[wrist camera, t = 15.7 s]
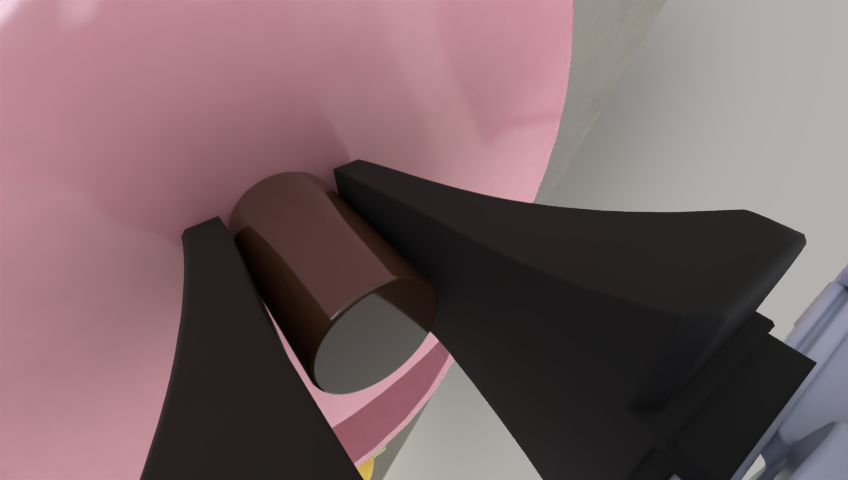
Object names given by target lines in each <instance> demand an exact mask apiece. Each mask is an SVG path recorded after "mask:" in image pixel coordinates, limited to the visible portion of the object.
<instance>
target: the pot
mask: <svg viewBox="0 0 848 480" xmlns="http://www.w3.org/2000/svg"><path fill="white" fill-rule="evenodd" d="M453 361H454V358H453V357H452V356H451V354H450V353H449V352H448V351H447V349H446V348H445V347H444V346H443V345H442V344H441V343H440V342H438V343H437V344H436V345H435V346H434V347H433V348H432V349H431V350H430V351H429V352H428V353H427V354H426V355H425V356H424V357H423V358H422V359H421V360H420V361H418V362H417V363H416V364H415V365H414V366H413V367H412V368H411V369H410V370H409V371H408V372H407V373H406V374H404V375H403V376H402V377H401V378H400V379H398V380H397V381H396V382H395V383H393V384H392V385H391V386H390V387H389V388H387V389H386V390H385V391H384V392H383V393H381V394H380V395H379V396H377V397H376V398H375V399H373V400H372V401H371V402H369V403H368V404H367V405H365V406H364V407H362V408H361V409H360V410H358V411H357V412H356V413H354V414H353V415H351V416H350V417H348V418H347V419H345V420H344V421H342V422H341V423H339V424H338V425H336V426H335V427H333V428H332V429H333V431H334V433H335V434H336V436H337V437H338V439H339V441H340V442H341V444H342V446H343V447H344V449H345V450H346V452H347V454H348V455H349V457H350V458H351V460H352V462H353V463H354V465H355V466H356V468H357V467H359V466H360V465H361V464H363V463H364V462H365V461H367V460H368V459H369V458H371V457H372V456H373V455H375V454H376V453H377V452H378V451H379V450H380V449H382V448H383V447H384V446H385V445H386V444H387V443H388V442H389V441H390V440H391V439H392V438H393V437H394V436H395V435H396V434H397V433H398V432H400V431H401V430H402V429H403V428H404V427H405V426H406V425H407V424H408V423H409V422H410V421H411V420H412V418H413V417H414V416H415V415H416V414H417V412H418V411H419V410H420V409H421V407H422V406H423V405H424V404H425V403H426V401H427V400H428V399H429V398H430V397H431V395H432V394H433V393H434V392H435V390H436V389H437V387H438V386H439V384H440V382H441V381H442V379H443V377H444V376H445V374H446V372H447V371H448V369H449V367H450V366H451V364H452V362H453Z"/></svg>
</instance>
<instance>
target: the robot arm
mask: <svg viewBox="0 0 848 480" xmlns="http://www.w3.org/2000/svg"><path fill="white" fill-rule="evenodd" d="M333 171H334V176H335V180H336V185H337V189H338V193H339V195H340V196H341V197H342V198H343V199H344V200H345V201H346V202H347V203H348V204H349V205H350V206H351V207H352V208H353V209H354V210H355V211H356V212H357V213H358V214H359V215H360V216H361V217H362V218H364V219H365V220H366V221H367V222H368V223H369V224H370V225H371V226H372V227H373V228H374V229H375V230H376V231H377V232H378V233H379V234H380V235H381V236H382V237H383V238H384V239H385V240H386V241H387V242H388V243H389V244H391V245H392V246H393V247H394V248H395V249H396V250H397V251H398V252H399V253H400V254H401V255H402V256H403V257H404V258H405V259H406V260H407V261H408V262H409V263H410V264H411V265H412V266H413V267H414V268H415V269H416V270H417V271H419V272H420V273H421V274H422V275H423V276H424V277H425V278H426V279H427V280H428V281H429V282H430V283H431V284H432V286H433V287H434V289H435V292H436V295H437V298H438V310H437V315H436V318H435V321H434V324H433V326H432V328H431V330H430V332H431V333H432V334H433V335H434V336H435V337H436V338H437V339H438V340H439V342H440V343H441V344H442V345H443V346H444V347H445V348H446V349H447V351H448V352H449V353H450V354H451V356H452V357H453V358H454V359H455V360H456V362H457V363H458V364H459V366H460V367H461V368H462V369H463V371H464V372H465V373H466V375H467V376H468V377H469V378H470V379H471V381H472V382H473V383H474V385H475V386H476V387H477V389H478V390H479V391H480V393H481V394H482V395H483V397H484V398H485V399H486V401H487V402H488V403H489V405H490V406H491V407H492V409H493V410H494V411H495V413H496V414H497V415H498V417H499V418H500V419H501V421H502V422H503V424H504V425H505V426H506V428H507V429H508V430H509V432H510V433H511V435H512V436H513V437H514V439H515V440H516V441H517V443H518V444H519V446H520V447H521V449H522V450H523V451H524V452H525V454H526V455H527V457H528V458H529V460H530V461H531V463H532V464H533V466H534V467H535V469H536V470H537V472H538V473H539V475H540V476H541V478H542V479H543V480H741V479H742V478H743V477H744V475H745V474H746V473H747V471H748V470H749V468H750V467H751V466H752V464H753V463H754V462H755V460H756V459H757V457H758V456H759V455H760V454H761V455H762V457H763V458H764V460H765V466H764V467H763V468H762V469H761V470H760V471H758V472H757V473H756V474H755V475H754V476H752V477H751V478H750V479H749V480H848V265H846V267H845V268H844V269H843V270H842V272H841V273H840V274H839V275H838V276H837V277H836V278H835V280H834V281H833V282H830V283H829V284H828V285H827V286H826V287H825V288H824V290H823V291H822V292H821V293H820V294H819V295H818V296H817V297H816V298H815V299H814V301H813V302H812V303H811V304H810V305H809V307H808V308H807V309H806V310H805V311H804V312H803V314H802V315H801V316H800V317H799V318H798V319H797V321H796V322H795V323H794V326H795V327H794V328H793V330H792V331H791V332H790V333H789V334H788V336H787V337H786V338H785V339H784V340H783V341H780V340H778V339H777V338H775V337H773V336H772V335H770V334H768V333H769V332H770V331H771V329H772V328H773V327H774V326H775V325H774V323H773V321H772V320H770V319H768V318H766V317H765V316H763V315H761V314H760V313H758V312H756V310H757V308H758V307H759V306H760V304H761V303H762V302H763V301H764V299H765V298H766V297H767V295H768V294H769V293H770V291H771V290H772V289H773V288H774V286H775V285H776V284H777V283H778V281H779V280H780V279H781V278H782V276H783V275H784V274H785V273H786V271H787V270H788V269H789V267H790V266H791V265H792V263H793V262H794V261H795V259H796V258H797V256H798V255H799V254H800V252H801V251H802V249H803V248H804V246H805V245H806V239H805V236H804V234H802V233H800V232H798V231H795V230H793V229H791V228H789V227H787V226H784V225H782V224H780V223H778V222H775V221H773V220H771V219H769V218H766V217H764V216H761V215H759V214H756V213H754V212H751V211H748V210H721V211H720V210H719V211H696V212H622V211H600V210H588V209H577V208H565V207H556V206H547V205H540V204H534V203H527V202H521V201H515V200H509V199H503V198H498V197H493V196H489V195H485V194H480V193H476V192H472V191H468V190H463V189H459V188H456V187H452V186H448V185H444V184H441V183H437V182H434V181H431V180H427V179H424V178H420V177H417V176H414V175H411V174H407V173H404V172H401V171H398V170H395V169H391V168H388V167H385V166H382V165H378V164H375V163H371V162H368V161H364V160H359V159H357V160H355V161H352V162H350V163H348V164H345V165H343V166H340V167H338V168H335V169H333ZM181 239H182V244H183V253H184V284H183V297H182V310H181V318H180V325H179V331H178V337H177V343H176V349H175V355H174V361H173V365H172V370H171V375H170V379H169V383H168V387H167V391H166V395H165V399H164V403H163V406H162V410H161V414H160V417H159V421H158V424H157V428H156V431H155V434H154V437H153V440H152V443H151V446H150V449H149V452H148V455H147V459H146V462H145V465H144V468H143V471H142V474H141V477H140V480H364V479H363V478H362V476H361V474H360V473H359V471H358V470H357V468H356V466H355V465H354V463H353V462H352V460H351V458H350V457H349V455H348V454H347V452H346V450H345V449H344V447H343V446H342V444H341V442H340V441H339V439H338V437H337V436H336V434H335V433H334V431H333V429H332V428H331V426H330V424H329V423H328V421H327V420H326V418H325V416H324V415H323V413H322V411H321V410H320V408H319V407H318V405H317V403H316V402H315V400H314V398H313V397H312V395H311V393H310V392H309V390H308V389H307V387H306V385H305V384H304V382H303V380H302V379H301V377H300V375H299V374H298V372H297V370H296V369H295V367H294V365H293V364H292V362H291V360H290V359H289V357H288V355H287V353H286V350H285V348H284V346H283V343H282V341H281V339H280V336H279V334H278V332H277V330H276V327H275V325H274V323H273V321H272V319H271V317H270V315H269V313H268V310H267V308H266V306H265V304H264V302H263V300H262V298H261V297H260V295H259V293H258V291H257V289H256V286H255V284H254V282H253V280H252V277H251V275H250V273H249V271H248V269H247V267H246V265H245V262H244V260H243V258H242V256H241V254H240V252H239V250H238V248H237V246H236V244H235V242H234V240H233V237H232V235H231V233H230V232H229V230H228V229H227V227H226V226H225V224H224V223H223V222H222V220H221V219H220V218H219V216H217V217H214V218H212V219H210V220H207V221H205V222H202V223H200V224H197V225H195V226H192V227H190V228H187V229H185V230H184V232H183V234H182V236H181Z"/></svg>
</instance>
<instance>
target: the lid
mask: <svg viewBox="0 0 848 480" xmlns="http://www.w3.org/2000/svg"><path fill="white" fill-rule="evenodd" d="M573 22H574V0H0V480H140V477H141V474H142V471H143V468H144V465H145V462H146V459H147V455H148V452H149V449H150V446H151V443H152V440H153V437H154V434H155V431H156V428H157V424H158V421H159V417H160V414H161V410H162V406H163V403H164V399H165V395H166V391H167V387H168V383H169V379H170V375H171V370H172V365H173V361H174V355H175V349H176V343H177V337H178V331H179V325H180V318H181V310H182V297H183V284H184V253H183V244H182V239H181V236H182V234H183V232H184V230H185V229H187V228H190V227H192V226H195V225H197V224H200V223H202V222H205V221H207V220H210V219H212V218H214V217H217V216H219V218H220V219H221V220H222V222H223V223H224V224H225V226H226V227H227V229H228V230H229V232H230V233H231V235H232V237H233V240H234V242H235V244H236V246H237V248H238V250H239V252H240V254H241V256H242V258H243V260H244V262H245V265H246V267H247V269H248V271H249V273H250V275H251V277H252V280H253V282H254V284H255V286H256V289H257V291H258V293H259V295H260V297H261V298H262V300H263V302H264V304H265V306H266V308H267V310H268V313H269V315H270V317H271V319H272V321H273V323H274V325H275V327H276V330H277V332H278V334H279V336H280V339H281V341H282V343H283V346H284V348H285V350H286V353H287V355H288V357H289V359H290V360H291V362H292V364H293V365H294V367H295V369H296V370H297V372H298V374H299V375H300V377H301V379H302V380H303V382H304V384H305V385H306V387H307V389H308V390H309V392H310V393H311V395H312V397H313V398H314V400H315V402H316V403H317V405H318V407H319V408H320V410H321V411H322V413H323V415H324V416H325V418H326V420H327V421H328V423H329V424H330V426H331V428H333V427H335V426H336V425H338V424H339V423H341V422H342V421H344V420H345V419H347V418H348V417H350V416H351V415H353V414H354V413H356V412H357V411H358V410H360V409H361V408H362V407H364V406H365V405H367V404H368V403H369V402H371V401H372V400H373V399H375V398H376V397H377V396H379V395H380V394H381V393H383V392H384V391H385V390H386V389H387V388H389V387H390V386H391V385H392V384H393V383H395V382H396V381H397V380H398V379H400V378H401V377H402V376H403V375H404V374H406V373H407V372H408V371H409V370H410V369H411V368H412V367H413V366H414V365H415V364H416V363H417V362H418V361H420V360H421V359H422V358H423V357H424V356H425V355H426V354H427V353H428V352H429V351H430V350H431V349H432V348H433V347H434V346H435V345H436V344H437V343H438V342H439V340H438V339H437V338H436V337H435V336H434V335H433V334H432V333H431V332H430V330H431V328H432V326H433V324H434V321H435V318H436V315H437V310H438V298H437V295H436V292H435V289H434V287H433V286H432V284H431V283H430V282H429V281H428V280H427V279H426V278H425V277H424V276H423V275H422V274H421V273H420V272H419V271H417V270H416V269H415V268H414V267H413V266H412V265H411V264H410V263H409V262H408V261H407V260H406V259H405V258H404V257H403V256H402V255H401V254H400V253H399V252H398V251H397V250H396V249H395V248H394V247H393V246H392V245H391V244H389V243H388V242H387V241H386V240H385V239H384V238H383V237H382V236H381V235H380V234H379V233H378V232H377V231H376V230H375V229H374V228H373V227H372V226H371V225H370V224H369V223H368V222H367V221H366V220H365V219H364V218H362V217H361V216H360V215H359V214H358V213H357V212H356V211H355V210H354V209H353V208H352V207H351V206H350V205H349V204H348V203H347V202H346V201H345V200H344V199H343V198H342V197H341V196H340V195H339V193H338V189H337V185H336V180H335V176H334V171H333V169H335V168H338V167H340V166H343V165H345V164H348V163H350V162H352V161H355V160H357V159H359V160H364V161H368V162H371V163H375V164H378V165H382V166H385V167H388V168H391V169H395V170H398V171H401V172H404V173H407V174H411V175H414V176H417V177H420V178H424V179H427V180H431V181H434V182H437V183H441V184H444V185H448V186H452V187H456V188H459V189H463V190H468V191H472V192H476V193H480V194H485V195H489V196H493V197H498V198H503V199H509V200H515V201H521V202H527V203H533V201H534V199H535V197H536V194H537V192H538V189H539V186H540V184H541V181H542V179H543V176H544V174H545V171H546V169H547V166H548V162H549V159H550V156H551V153H552V149H553V146H554V143H555V140H556V137H557V133H558V129H559V124H560V120H561V116H562V111H563V107H564V102H565V98H566V91H567V84H568V77H569V71H570V64H571V54H572V38H573Z"/></svg>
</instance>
